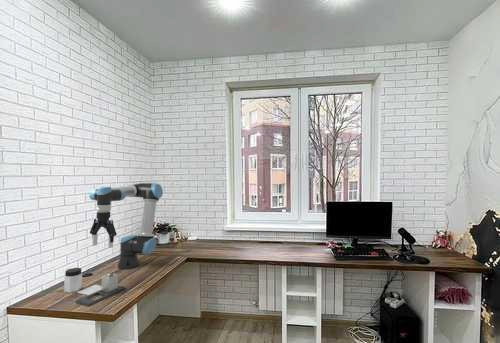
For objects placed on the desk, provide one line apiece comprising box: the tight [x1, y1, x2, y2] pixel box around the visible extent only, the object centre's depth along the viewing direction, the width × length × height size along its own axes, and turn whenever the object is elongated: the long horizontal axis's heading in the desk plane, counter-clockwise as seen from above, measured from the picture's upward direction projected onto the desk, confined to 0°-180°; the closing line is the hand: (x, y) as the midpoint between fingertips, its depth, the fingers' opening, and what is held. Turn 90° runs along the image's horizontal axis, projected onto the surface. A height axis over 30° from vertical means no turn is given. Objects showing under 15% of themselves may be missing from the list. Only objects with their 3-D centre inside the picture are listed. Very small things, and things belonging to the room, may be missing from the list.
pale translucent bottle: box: [100, 272, 119, 294], centre depth 158 cm, size 6×6×11 cm
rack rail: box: [75, 285, 126, 307], centre depth 153 cm, size 24×10×1 cm, turn 158°
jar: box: [63, 267, 83, 294], centre depth 161 cm, size 9×8×12 cm
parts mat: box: [76, 284, 102, 296], centre depth 160 cm, size 12×10×1 cm
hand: (102, 246), depth 163 cm, fingers open, 13 cm apart
